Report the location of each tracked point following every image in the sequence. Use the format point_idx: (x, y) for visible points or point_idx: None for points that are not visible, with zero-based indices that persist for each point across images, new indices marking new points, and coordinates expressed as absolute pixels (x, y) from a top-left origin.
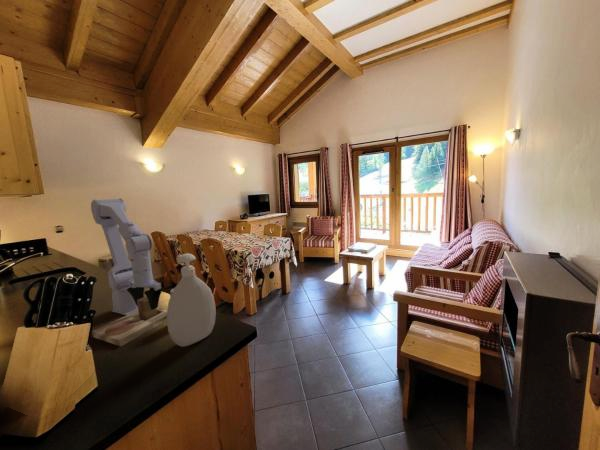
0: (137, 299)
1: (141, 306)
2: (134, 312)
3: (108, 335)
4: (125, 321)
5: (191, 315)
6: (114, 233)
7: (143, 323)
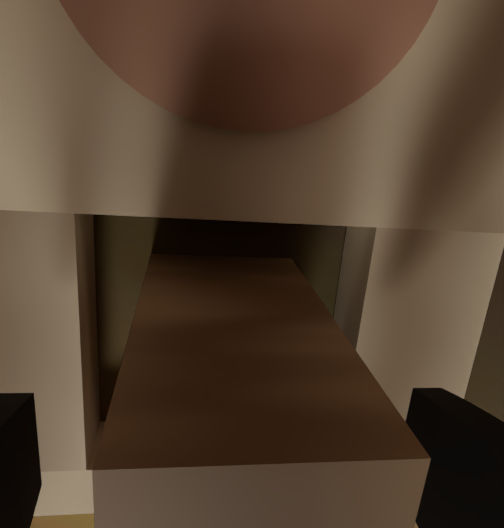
0: (498, 497)
1: (249, 371)
2: (463, 331)
3: None
4: (341, 81)
5: None
6: None
7: (19, 144)
